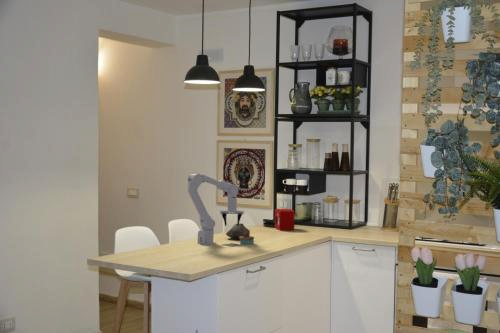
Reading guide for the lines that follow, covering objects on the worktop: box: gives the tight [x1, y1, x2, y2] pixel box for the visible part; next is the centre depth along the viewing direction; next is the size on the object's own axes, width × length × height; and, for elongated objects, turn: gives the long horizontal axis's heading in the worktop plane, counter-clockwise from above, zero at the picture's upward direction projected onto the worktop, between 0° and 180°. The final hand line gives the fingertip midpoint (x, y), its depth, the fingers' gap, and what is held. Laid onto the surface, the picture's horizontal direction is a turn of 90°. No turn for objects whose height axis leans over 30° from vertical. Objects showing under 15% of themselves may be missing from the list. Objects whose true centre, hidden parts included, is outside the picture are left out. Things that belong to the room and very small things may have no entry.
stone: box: [225, 223, 249, 241], centre depth 395 cm, size 18×10×15 cm
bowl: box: [239, 238, 255, 246], centre depth 375 cm, size 8×8×4 cm
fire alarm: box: [274, 208, 295, 232], centre depth 451 cm, size 16×11×15 cm
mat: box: [222, 243, 242, 248], centre depth 369 cm, size 10×10×1 cm
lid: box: [239, 229, 255, 240], centre depth 374 cm, size 9×9×5 cm
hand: (231, 225), depth 382 cm, fingers open, 7 cm apart
